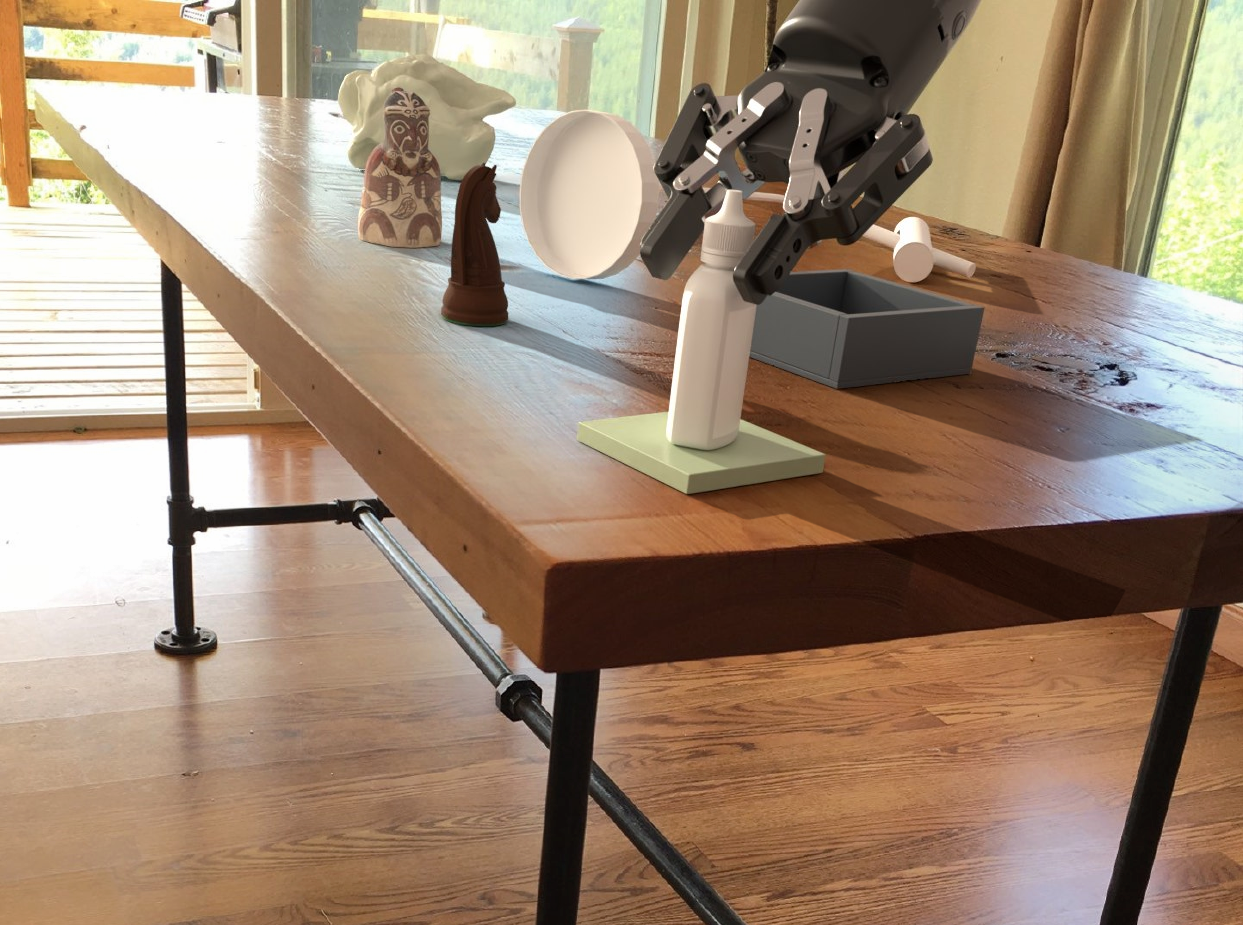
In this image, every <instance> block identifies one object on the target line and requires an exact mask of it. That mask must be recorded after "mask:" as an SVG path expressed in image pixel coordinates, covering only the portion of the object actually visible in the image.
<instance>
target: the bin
mask: <svg viewBox="0 0 1243 925" xmlns="http://www.w3.org/2000/svg"><path fill="white" fill-rule="evenodd" d="M985 308H986V307H985V306H981V305H978V304H975V303H971V302H967V301H963V300H959V299H956V298H953V297H949V296H945V295H942V294H938V293H934V292H931V291H927V290H923V289H921V288H916V287H913V286H910V285H906V284H903V283H898V282H895V281H891V280H888V279H884V278H881V277H877V276H874V275H870V274H866V273H863V272H859V271H857V270H852V269H848V268H841V269H840V268H839V269H819V270H818V269H817V270H800V271H799V270H798V271H790V274H789V275H788V277H787V278H786V280H785V281H784V283H783V284H782V286H781V287H780V288H779V289H778V290H777V291H776V292H775V293H773V294H772V295H771V296H769V295H767V297H766V298H765V300H764V301H763V302H762V303H761V304H759V305H757V306H756V313H755V320H754V327H753V334H752V341H751V348H750V355H749V358H751V359H753V360H756V361H759V362H762V363H765V364H767V365H770V366H773V365H774V366H773V367H776V368H777V369H782V370H784V371H786V372H789V373H791V374H794V375H797V376H800V377H803V378H806V379H808V380H811V381H813V382H816V383H819V384H822V385H825V386H827V387H830V388H832V389H835V390H840V389H849V388H859V387H866V386H876V384H877V385H884V384H885V385H886V384H893V383H892V382H894V383H899V382H898V381H903V382H906V381H905V380H911V381H918V380H917V379H920V380H926V379H925V378H929V379H937V378H947V377H954V376H963V375H971V373H972V368H973V365H974V360H975V355H976V352H977V347H978V341H979V337H980V331H981V327H982V323H983V318H984V314H985ZM895 381H896V382H895Z"/></svg>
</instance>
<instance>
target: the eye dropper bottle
mask: <svg viewBox="0 0 1243 925" xmlns="http://www.w3.org/2000/svg"><path fill="white" fill-rule="evenodd" d="M704 224H705V226H704V230H703V233H702V234H703V235H702V243H701V251H700V261H701V262H702V263H701V264H700V265H699V266H698V267H697V269H695V270H694V272H692V274H691V275H690V276H689V278H688V279H687V281H686V283H685V286H684V289H683V294H682V300H681V310H680V317H679V324H678V331H677V339H676V340H677V341H676V349H675V357H674V365H673V366H674V367H673V371H672V372H673V373H672V381H671V389H670V397H669V407H668V412H669V414H668V422H667V438H668V440H669V442H671V443H672V444H675V445H679V446H684V447H690V448H695V449H700V450H714V449H718V448H721V447H724V446H726V445H728V444H730V443H731V442H732V441H734V439H735V438H736V436H737V434H738V431H739V425H740V419H741V417H742V412H743V411H742V410H743V404H744V397H745V389H746V382H747V375H748V369H749V368H748V367H749V362H750V357H749V355H750V348H751V341H752V334H753V327H754V320H755V313H756V306H757V305H756V304H752V303H748V302H745V301H744V300H743V299H742V297H741V295H740V293H739V291H738V289H737V287H736V285H735V283H734V281H733V272H734V269H735V268H736V266H737V265H738V263H739V262H740V260H741V259H742V257H743V256H744V255H745V253H746V252H747V250H748V249H749V247H750V246H751V245H752V243H753V242H754V240H755V233H756V227H757V224H756V223H755V222H754V221H753V220H751V219H749V218H748V217H747V216H746V215H745V212H744V204H743V200H742V191H739V190H727V193H726V196H725V199H724V202H723V206H722V208H721V210H720V211H719V212H718V213H717V214H715V215H713V216H711V217H708V218H707V219H706V220H705V223H704Z"/></svg>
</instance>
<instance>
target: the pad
mask: <svg viewBox="0 0 1243 925" xmlns="http://www.w3.org/2000/svg"><path fill="white" fill-rule="evenodd" d="M668 414H669V411H661V412H660V411H659V412H654V413H645V414H634V415H627V416H618V417H611V418H610V417H609V418H602V419H593V420H584V421H578V426H577V434H576V435H577V436H576V441H578V442H580V443H582V444H583V445H585V446H587V447H590V448H592V449H593V450H596V451H598V452H600V453H602V454H604V455H606V456H608V457H610V458H613V459H614V460H616V461H618V462H620V463H622V464H625V465H626V466H628V467H630V468H632V469H635V470H636V471H639V472H640V473H642V474H644V475H647V476H648V477H651V478H653V479H654V480H657V481H659V482H661V483H663V484H665V485H667V486H669V487H671V488H673V489H675V490H677V491H679V492H681V493H683V494H685V495H692V494H698V493H705V492H710V491H717V490H723V489H731V488H735V487H742V486H749V485H753V484H754V485H755V484H761V483H767V482H773V481H779V480H781V481H782V480H787V479H793V478H798V477H805V476H812V475H818V474H823V472H824V467H825V462H826V461H825V460H826V454H825V453H823V452H821V451H818V450H816V449H813V448H811V447H809V446H806V445H804V444H801V443H799V442H796V441H794V440H792V439H790V438H787V437H785V436H782V435H780V434H778V433H775V432H773V431H770V430H768V429H766V428H763V427H760V426H758V425H756V424H753V423H751V422H748V421H746V420H745V419H741V418H740V425H739V431H738V434H737V436H736V438H735V439H734V441H732V442H731V443H730V444H728V445H726V446H724V447H721V448H718V449H714V450H700V449H695V448H690V447H684V446H679V445H675V444H672V443H671V442H669V440H668V438H667V422H668Z"/></svg>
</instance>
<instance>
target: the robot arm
mask: <svg viewBox="0 0 1243 925" xmlns="http://www.w3.org/2000/svg"><path fill="white" fill-rule="evenodd" d="M981 2H982V0H798V2H797V3H796V4H795V6H794V7H793V9H792V10H791V11H790V13H789V14H788V15H787V17H786V18H785V20H784V21H783V23H782V24H781V25H780V27H779V28H778V30H777V31H776V33H775V35H774V39H773V42H772V46H771V50H770V54H769V58H768V61H767V65H766V68H765V69H764V71H763V72H762V73H761V74H760V75H758V76H757V77H756V78H754V79H753V80H752V81H751V82H749V83H748V84H747V85H745V86H744V87H743V88H742V89H741V90H740V93H739V94H732V95H730V94H729V95H715V93H714V91H713V88H712V87H711V85H710V83H707V82H702V83H699V84H697V85H695V86H693V87H692V88H691V90H690V91H689V93H688V94H687V96H686V99H685V101H684V103H683V105H682V106H681V107H682V108H681V109H680V111H679V113H678V115H677V117H676V120H675V121H674V124H673V126H672V128H671V130H670V131H669V134H668V135H667V138H666V140H665V142H664V144H663V146H662V148H661V150H660V152H659V154H658V157H657V159H656V161H655V165H654V167H653V170H654V172H655V174H656V176H657V178H658V180H659V184H661V185H662V187H663V189H664V191H665V193H664V194H665V195H666V196H667V198H668V201H667V202H666V204H664V206H663V207H662V209H661V210H660V211H659V214H657V216H656V219H655V220H654V223H652V225H651V226H650V229H648V230H647V232H646V233H645V234H644V236H643V237H642V240H641V244H640V247H641V250H640V255H639V256H640V258H641V260H642V262H643V264H644V265H645V266H646V267H645V268H646V269H647V270H648V272H649V274H650V276H651V277H652V278H655V279H657V280H663V281H668V280H669V279H670V278H671V277H672V276H673V274H674V273H675V272H676V270H677V269H678V267H679V266H680V265H681V263H682V261H683V260H684V259H685V258H686V257H687V255H688V253H689V252H690V250H691V249H692V248H693V246H694V245H695V243H697V240H698V239H699V237H700V236H701V235H702V234H703V233H704V226H705V220H706V219H707V218H708V217H711V216H713V215H716V214H717V213H718V212H719V211H720V210H721V208H722V206H723V202H724V199H725V196H726V193H727V190H739V191H742V201H745V199H747V198H748V197H749V196H750V195H751V194H753V193H754V192H757V191H758V190H759V189H760V188H761V187H763V186H764V185H765V184H766V183H785V184H786V185H787V189H786V192H785V195H784V196H785V200H784V203H783V204H782V209H783V211H784V212H783V213H782V214H778V213H772V214H771V216H770V217H769V219H768V220H767V221H766V223H765V224H764V226H763V227H762V229H761V230H760V231H759V233H758V234H757V236H756V237H755V238H754V242H753V243H752V245H751V246H750V247H749V249H748V250H747V252H746V253H745V255H744V256H743V257H742V259H741V260H740V262H739V263H738V265H737V266H736V268H735V269H734V272H733V281H734V283H735V285H736V287H737V289H738V291H739V293H740V295H741V297H742V299H743V300H744V301H745V302H748V303H752V304H756V305H759V304H761V303H762V302H763V301H764V300H765V298H766V297H767V295H769V296H771V295H772V294H773V293H775V292H776V291H777V290H778V289H779V288H780V287H781V286H782V284H783V283H784V281H785V280H786V278H787V277H788V275H789V274H790V272H793V271H794V270H793V269H794V268H795V267H796V265H797V264H798V262H799V261H800V259H801V258H802V256H803V255H804V254H805V252H806V251H807V250H808V249H813V248H815V247H818V245H820V244H821V242H822V241H823V240H836V242H837V243H838V244H839V245H840V246H846V247H847V246H852V245H853V244H855V243H857V242H858V241H859V240H860V239H861V238H863V237H862V236H863V234H864V233H865V232H866V231H867V230H868V229H869V228H870V227H871V226H872V225H873V224H874V225H875V223H876V222H878V221H879V219H880V218H881V217H882V216H883V215H884V214H885V213H886V212H887V211H888V210H889V209H890V208H891V207H892V206H893V205H894V204H895V203H896V202H897V201H898V199H899V198H900V197H901V196H902V195H904V194H905V192H906V191H908V189H910V187H911V186H912V185H913V184H914V183H915V182H916V181H917V180H918V179H919V178H920V177H921V176H923V174H924V173H925V172H926V171H927V169H929V168H930V166H932V163H933V161H934V158H933V155H932V152H931V149H930V148H931V147H930V143H929V140H928V137H927V134H926V129H924V126H923V124H922V120H921V117H920V116H919V115H918V114H916V113H909V112H910V111H911V109H912V108H913V107H914V105H915V104H916V102H917V100H918V99H919V98H920V96H921V95H922V93H923V92H924V91H925V89H926V88H927V87H928V84H929V83H930V82H931V81H932V79H933V77H934V76H935V75H936V74H937V72H938V70H939V69H940V67H941V66H942V64H943V63H944V61H945V60H946V58H947V57H948V55H949V54H950V53H951V51H952V50H953V49H954V47H955V45H956V44H957V43H958V41H959V40H960V38H961V37H962V35H963V34H964V32H965V31H966V30H967V28H968V26H969V25H970V24H971V22H972V20H973V18H974V16H975V14H976V12H977V10H978V8H979V6H980V3H981ZM737 149H738V151H739V153H740V155H741V158H742V160H743V162H744V165H745V166H746V168H745V169H743V170H742V171H741V168H740V167H739V164H738V162H737V160H736V156H735V154H736V151H737ZM849 167H850V168H849ZM848 168H849V170H848ZM717 174H718V181H717V183H716V184H714V185H713V186H712V187H710V188H711V189H710V190H708V191H707V192H706V193H705V192H704V190H703V188H702V187H703V185H705V184H706V183H707V182H709V180H711V179H712V178H713V177H714V176H716V175H717ZM862 195H863V197H862V198H861V200H860V201H859V202H858V203H857V204H856V205H854V207H853V206H852V205H853V204H854V203H855V202H856V201H857V200H858V199H859V198H860V197H861V196H862Z"/></svg>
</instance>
